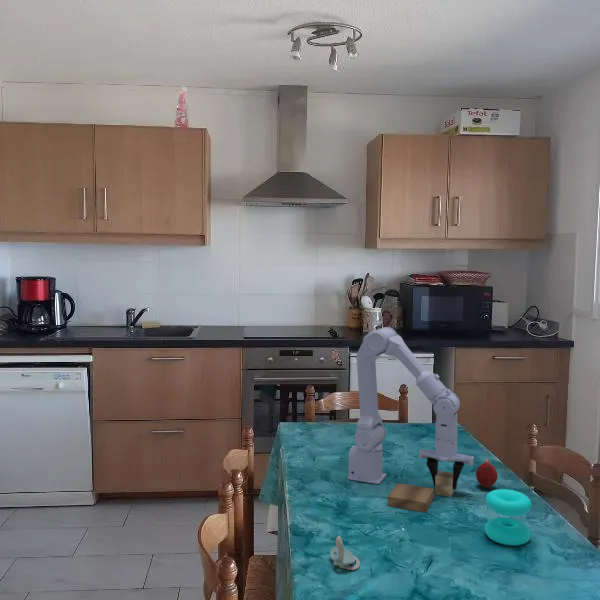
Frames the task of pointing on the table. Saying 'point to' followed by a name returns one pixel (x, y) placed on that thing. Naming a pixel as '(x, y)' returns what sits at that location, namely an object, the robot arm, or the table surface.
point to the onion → (486, 474)
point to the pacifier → (343, 556)
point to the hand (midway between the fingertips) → (445, 486)
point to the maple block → (444, 484)
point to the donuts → (504, 527)
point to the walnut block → (411, 497)
